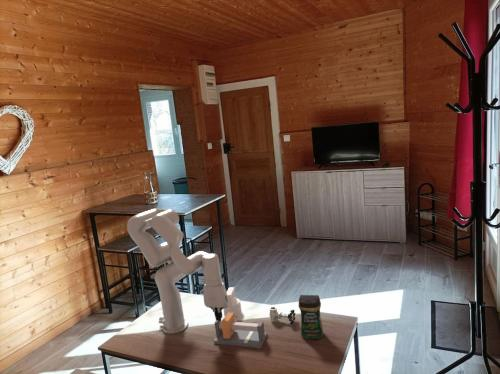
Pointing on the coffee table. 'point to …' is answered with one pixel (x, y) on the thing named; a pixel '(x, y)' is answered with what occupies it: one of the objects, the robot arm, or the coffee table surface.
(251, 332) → the slider rail fixture
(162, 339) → the coffee table surface
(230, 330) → the orange rectangular prism
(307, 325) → the coffee jar
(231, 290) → the cylinder with rectangular tab
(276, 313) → the valve
